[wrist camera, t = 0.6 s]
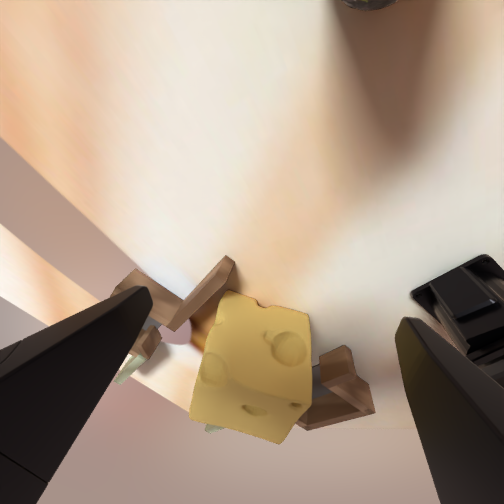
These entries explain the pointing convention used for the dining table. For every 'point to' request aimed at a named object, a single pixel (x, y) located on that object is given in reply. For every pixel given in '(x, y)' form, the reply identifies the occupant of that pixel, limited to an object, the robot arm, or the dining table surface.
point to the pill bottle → (368, 4)
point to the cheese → (254, 369)
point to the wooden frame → (323, 375)
